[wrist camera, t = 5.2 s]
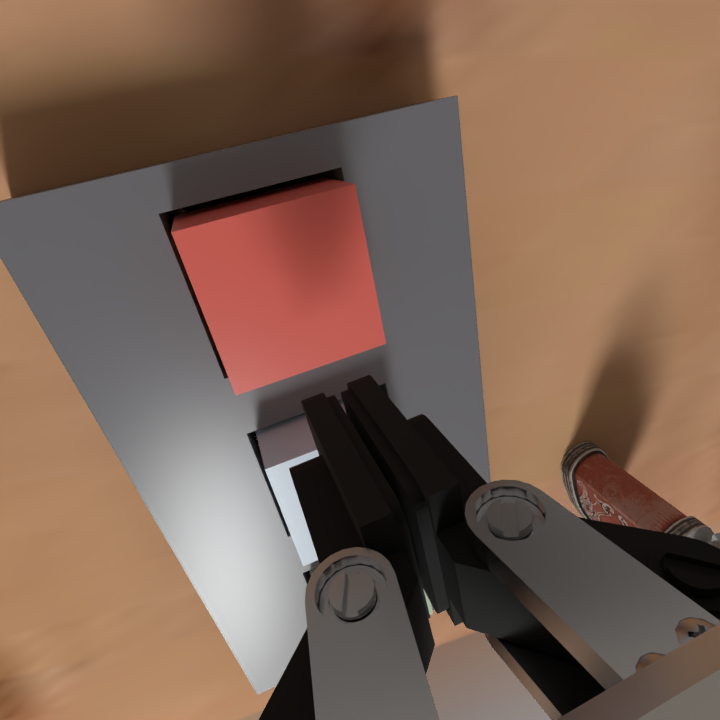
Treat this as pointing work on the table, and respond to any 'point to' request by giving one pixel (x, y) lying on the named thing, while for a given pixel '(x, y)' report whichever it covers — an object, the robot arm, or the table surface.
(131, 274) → the button panel
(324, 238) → the red button
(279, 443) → the bluegrey button
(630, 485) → the lighter
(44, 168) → the table surface
